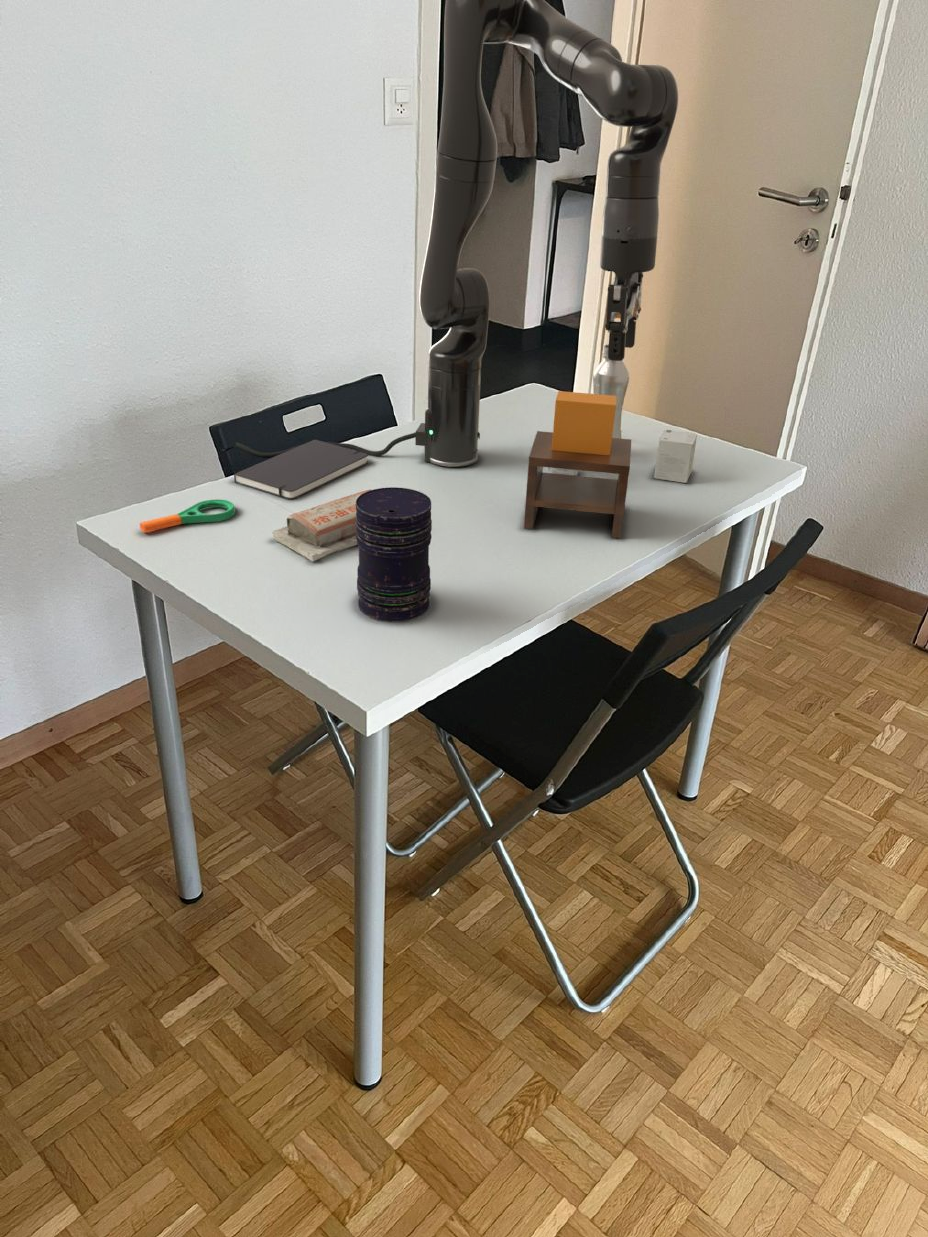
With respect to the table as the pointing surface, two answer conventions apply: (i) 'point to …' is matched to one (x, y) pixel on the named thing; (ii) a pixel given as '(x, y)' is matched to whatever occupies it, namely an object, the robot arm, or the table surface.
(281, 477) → the notebook
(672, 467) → the product carton
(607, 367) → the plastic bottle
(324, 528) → the packaged product
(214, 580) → the table surface
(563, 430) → the packet
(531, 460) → the wooden shelf
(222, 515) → the magnifying glass
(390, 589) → the storage jar
